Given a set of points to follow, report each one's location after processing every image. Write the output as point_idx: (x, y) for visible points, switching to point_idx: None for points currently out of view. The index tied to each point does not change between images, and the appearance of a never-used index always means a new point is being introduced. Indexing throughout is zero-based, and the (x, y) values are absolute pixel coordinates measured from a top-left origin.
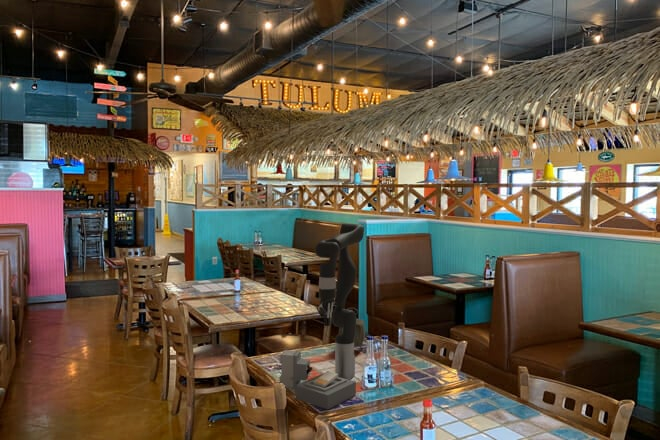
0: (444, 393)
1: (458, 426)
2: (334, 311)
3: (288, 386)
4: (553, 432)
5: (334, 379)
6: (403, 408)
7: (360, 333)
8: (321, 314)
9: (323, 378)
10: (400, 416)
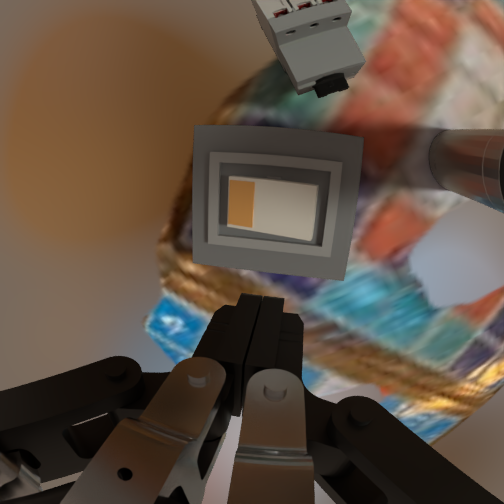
0: (420, 399)
1: None
2: (368, 493)
3: (273, 49)
4: None
5: (325, 207)
6: (314, 377)
7: None
8: (90, 393)
9: (261, 200)
10: None
